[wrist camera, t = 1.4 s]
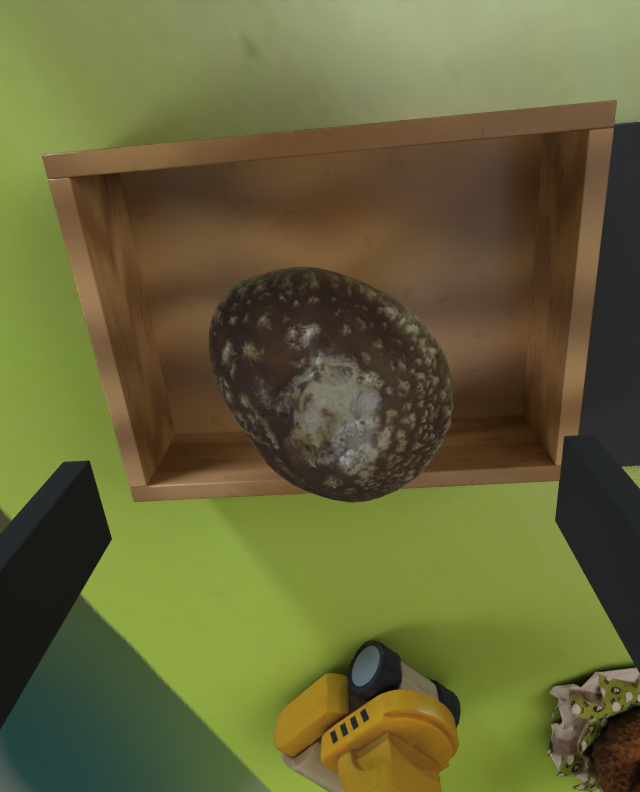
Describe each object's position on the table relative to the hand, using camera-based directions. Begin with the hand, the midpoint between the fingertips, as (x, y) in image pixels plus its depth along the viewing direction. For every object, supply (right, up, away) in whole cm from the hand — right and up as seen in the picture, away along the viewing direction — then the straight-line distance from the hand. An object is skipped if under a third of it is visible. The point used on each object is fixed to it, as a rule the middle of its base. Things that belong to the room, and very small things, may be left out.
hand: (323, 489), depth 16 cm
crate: (+1, +8, +17) cm, 19 cm away
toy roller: (+4, -22, +31) cm, 38 cm away
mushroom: (+1, +8, +17) cm, 19 cm away
